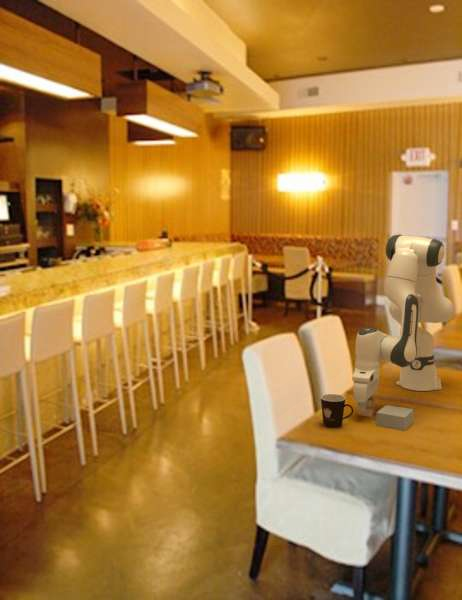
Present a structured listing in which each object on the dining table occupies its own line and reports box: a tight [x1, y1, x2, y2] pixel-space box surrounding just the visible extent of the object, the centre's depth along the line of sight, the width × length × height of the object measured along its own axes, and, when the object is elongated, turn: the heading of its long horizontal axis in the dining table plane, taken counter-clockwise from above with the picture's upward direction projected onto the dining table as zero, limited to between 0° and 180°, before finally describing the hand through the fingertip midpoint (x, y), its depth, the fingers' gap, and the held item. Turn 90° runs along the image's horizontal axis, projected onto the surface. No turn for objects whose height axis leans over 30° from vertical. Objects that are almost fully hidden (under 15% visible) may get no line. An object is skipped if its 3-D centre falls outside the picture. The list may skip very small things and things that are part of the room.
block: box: [375, 404, 415, 432], centre depth 212 cm, size 10×10×5 cm
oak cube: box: [357, 396, 376, 417], centre depth 223 cm, size 5×5×6 cm
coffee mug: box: [320, 393, 354, 429], centre depth 210 cm, size 12×9×10 cm
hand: (366, 408), depth 223 cm, fingers open, 5 cm apart
